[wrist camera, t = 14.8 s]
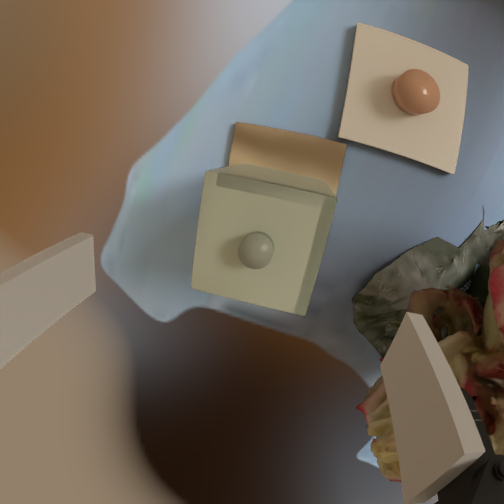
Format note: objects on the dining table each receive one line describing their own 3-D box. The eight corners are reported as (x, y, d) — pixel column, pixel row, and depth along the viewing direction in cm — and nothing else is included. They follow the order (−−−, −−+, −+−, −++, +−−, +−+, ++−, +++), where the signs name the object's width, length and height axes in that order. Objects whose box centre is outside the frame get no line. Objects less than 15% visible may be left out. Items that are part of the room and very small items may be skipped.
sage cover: (243, 163, 29) (198, 172, 16) (324, 180, 28) (339, 202, 16) (230, 238, 32) (184, 295, 19) (305, 256, 31) (304, 325, 18)
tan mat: (237, 122, 28) (236, 121, 28) (346, 144, 27) (347, 144, 26) (213, 267, 34) (212, 269, 33) (309, 290, 33) (309, 292, 32)
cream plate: (356, 25, 22) (361, 12, 19) (464, 67, 21) (478, 60, 18) (337, 137, 27) (341, 135, 24) (450, 173, 26) (464, 176, 22)
